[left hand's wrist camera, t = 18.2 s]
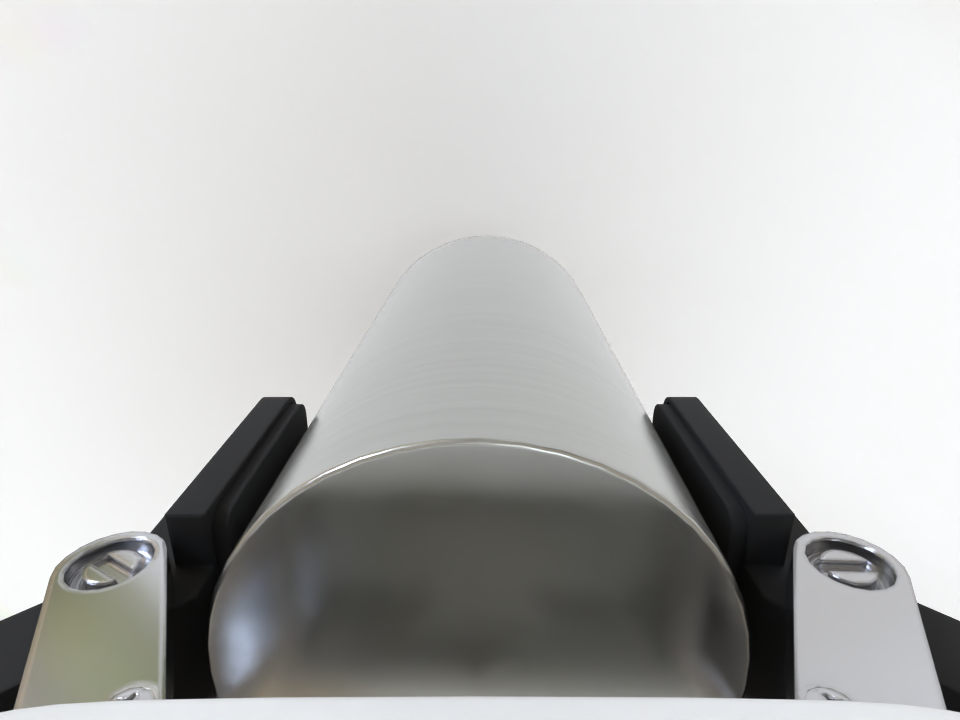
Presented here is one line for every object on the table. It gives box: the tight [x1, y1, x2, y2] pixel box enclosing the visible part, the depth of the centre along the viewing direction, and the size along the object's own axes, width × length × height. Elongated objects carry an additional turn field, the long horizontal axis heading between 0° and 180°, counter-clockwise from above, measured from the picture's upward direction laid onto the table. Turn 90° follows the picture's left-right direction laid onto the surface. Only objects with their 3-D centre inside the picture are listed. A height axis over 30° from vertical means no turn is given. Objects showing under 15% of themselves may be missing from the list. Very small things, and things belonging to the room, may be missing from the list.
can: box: [206, 236, 751, 699], centre depth 13 cm, size 7×7×12 cm
